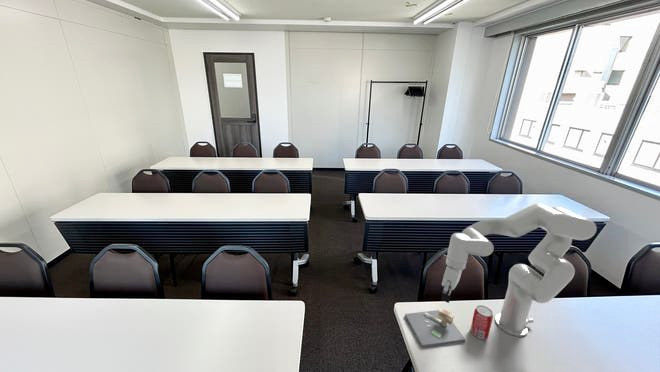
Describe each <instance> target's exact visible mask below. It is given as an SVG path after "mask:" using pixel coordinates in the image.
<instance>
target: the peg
mask: <svg viewBox="0 0 660 372" xmlns="http://www.w3.org/2000/svg"><path fill="white" fill-rule="evenodd" d="M438 310H439V311H438V317H437V318H439V319H441V320H442V321H441V320H439V319H437V318H435V317H433V316H431V315H430V314H428V313H426V311H424V312H425V314H426V315H428V316H429V317H431V318H433V319H435V320H437V321H439V322H441V325H443V326H447V325H448V323H449V324H450V325H451V324H452V322H453V323H454V317H455V314H454V313H451V312H450V311H448V310H446V309H444V308H442V307H439V309H438Z"/></svg>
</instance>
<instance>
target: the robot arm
mask: <svg viewBox="0 0 660 372" xmlns="http://www.w3.org/2000/svg"><path fill="white" fill-rule="evenodd" d="M538 228H539V229H540V228H541V229H542V230H544V231H545V232H546V235H545V236H544V238H543V239H542V240H541V241H540V242H539V243H538V244H537V245H536V247H535V248H534V249H533V250H532V251H531V252H530V254H529V255H528V261H529V262H530V264H531V265H532V266H533V267H535V268H536V269H537V270H538V271H540V272H541V273H542V274H544V275H543V276H542V275H541V274H540V273H538V272H537V271H536V270H535V269H534V268H532V267H530V266H529V265H527V264H525V263H516V264H514V265H513V266H512V267H511V268H510V269H509V272H508V285H507V290H506V292H505V298H504V300H503V303H502V304H503V305H502V308H501V312H500V313H498V314H495V317H494V321H495V324H496V325H497V326H498V327H499V328H500V329H501V330H502V331H503V332H505V333H506V334H509V335H511V336H515V337H524V336H526V335H528V334H527V333H528V332H529V330H528V327H527V325H528V324H533V323H534V319H533V318H531V317H530V318H528V316H529V313H530V310H531V307H532V304H533V301H534V302H536V303H538V304H545V303H546V304H547V303H548V302H550V301H552V300H553V299H554V298H555V297H557V295H558V294H559V293H560V292H561V291H562V290H563V289H564V288H565V287H566V286H567V285H568V284H569V283H570V282H571V281H572V280H573V278H574V276H575V272H576V269H575V266H574V265H573V264H572V263H571V262H570V261H568V260H567V259H566V258H564V255H565V254H566V252H568V250H570V248H571V246H572V243H573V240H577V241H585V240H589V239H591V238H592V237H594V235H595V234H596V233H597V225H596V223H595V222H594V221H593V220H591V219H589V218H586V217H585V216H582V215H580V214H578V213H576V212H574V211H572V210H569V209H567V208H564V207H561V206H553V207H550V206H548V205H546V204H542V203H533V204H531V205H528V206H527V207H525V208H523V209H521V210H519V211H517V212H515V213H513V214H511V215H509V216H507V217H504V218H492V219H484V220H480V221H477V222H475V223H473V224H472V225H469V226H467V227H466V228H464V229H463V230H462V231H461V232H454V233H453V234H451V236H450V240H449V246H448V249H447V255H446V260H445V264H446V268H445V271H444V273H443V277H442V281H441V286H442V287H443V291H442V292H441V293H442V294H441V296H440V298H441V301H443V302H445V303H448V304H449V303H450V300H451V293H452V291H454V292H457V289H458V287H459V286H458V285H459V282H460V279H461V275H462V272H463V271H464V270H465V269H466V266H467V262H468V257H469V255H473V256H478V257H488V256H490V255H491V254H492V253H493V252H494V244H493V243H492V241H490V240H489V239H488V238H487V237H486V236H487V235H492V234H493V235H494V234H495V235H502V236H508V237H512V238H519V237H522V236H524V235H526V234H528V233H530V232H532V231H534V230H537V229H538Z"/></svg>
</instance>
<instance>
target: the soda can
mask: <svg viewBox="0 0 660 372" xmlns="http://www.w3.org/2000/svg"><path fill="white" fill-rule="evenodd" d="M493 319H494V315H493V310H492V309H490V308H489V307H488V306H485V305H480V304H479V305H477V306H476V308H475V309H474V311H473V316H472V320H471V325H470V331H471V333H472V335H473V336H474V337H476V338H477V339H479V340H485V339H488V337H489V335H490V332H491V331H490V330H491V327H492V324H493Z"/></svg>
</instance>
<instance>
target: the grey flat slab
mask: <svg viewBox="0 0 660 372" xmlns="http://www.w3.org/2000/svg"><path fill="white" fill-rule="evenodd" d="M438 311H439V309H437V310H435V309H434V310H428V311H427V310H426V311H418V312H411V313H405V314H404V317H405V319H406V321H407V323H408V324H409V326H410V329H411V331H412V332H413V334H414V336H415V337H416V339H417V342H418V343H419V345H420V347H421V348H422V349H423V348H430V347H438V346H443V345H444V346H445V345H451V344H458V343H466V338H465V336H464V335H463V334H462V332H461V331H460V329H459V328H458V327H457V326H456V324H455V323H454V321H453V322H452V324H451V325H450V324H449V323H448V325H447V326H443V325H441V322H439V321H437V320H435V319H433V318H431V317H429V316H428V315H426V314H425V312H426V313H428V314H430V315H431V316H433V317H435V318H437V317H438ZM437 319H439V318H437ZM439 320H441V319H439ZM441 321H442V320H441Z"/></svg>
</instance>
